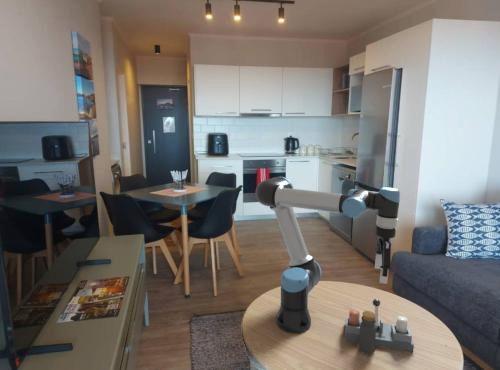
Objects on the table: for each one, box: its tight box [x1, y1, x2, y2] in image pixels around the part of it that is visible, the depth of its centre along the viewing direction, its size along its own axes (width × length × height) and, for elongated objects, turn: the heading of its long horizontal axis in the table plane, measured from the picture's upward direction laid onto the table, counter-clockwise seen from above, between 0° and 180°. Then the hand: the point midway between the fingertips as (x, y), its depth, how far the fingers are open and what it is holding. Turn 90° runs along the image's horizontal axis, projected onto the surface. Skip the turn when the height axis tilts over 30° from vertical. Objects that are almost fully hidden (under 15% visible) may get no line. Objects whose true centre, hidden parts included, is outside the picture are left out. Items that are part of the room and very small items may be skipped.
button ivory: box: [395, 315, 409, 334], centre depth 131 cm, size 4×4×5 cm
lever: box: [372, 298, 381, 330], centre depth 138 cm, size 3×3×12 cm
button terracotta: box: [348, 309, 361, 326], centre depth 136 cm, size 4×4×5 cm
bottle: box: [358, 310, 376, 355], centre depth 128 cm, size 6×6×15 cm
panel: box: [344, 317, 415, 352], centre depth 136 cm, size 25×12×7 cm, turn 75°
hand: (380, 275), depth 137 cm, fingers open, 13 cm apart
